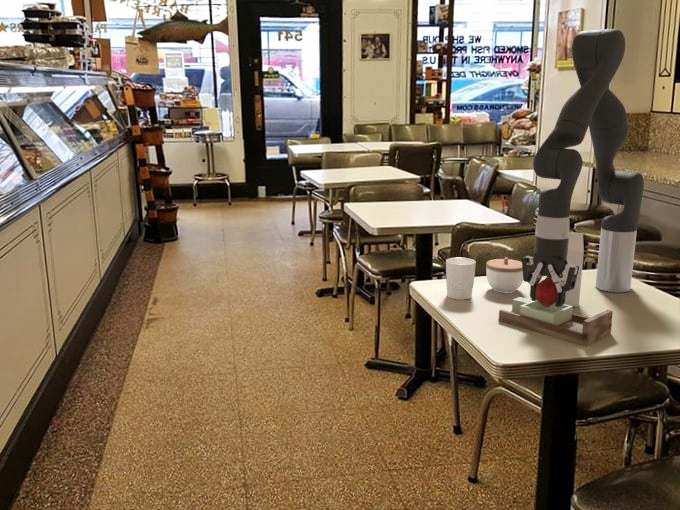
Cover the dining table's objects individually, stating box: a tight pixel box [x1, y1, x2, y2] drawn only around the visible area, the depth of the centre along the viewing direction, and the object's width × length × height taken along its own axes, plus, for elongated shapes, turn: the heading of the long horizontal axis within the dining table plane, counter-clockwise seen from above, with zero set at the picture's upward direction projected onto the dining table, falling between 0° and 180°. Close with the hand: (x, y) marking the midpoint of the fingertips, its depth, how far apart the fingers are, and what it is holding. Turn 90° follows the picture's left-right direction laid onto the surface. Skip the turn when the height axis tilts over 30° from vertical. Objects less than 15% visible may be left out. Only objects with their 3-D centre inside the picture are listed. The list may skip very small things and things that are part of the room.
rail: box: [498, 309, 614, 347], centre depth 161 cm, size 11×23×6 cm, turn 43°
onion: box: [535, 276, 558, 308], centre depth 161 cm, size 6×6×8 cm
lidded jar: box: [485, 257, 524, 293], centre depth 190 cm, size 11×11×9 cm
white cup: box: [445, 256, 476, 301], centre depth 184 cm, size 8×8×10 cm
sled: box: [511, 296, 574, 325], centre depth 164 cm, size 9×13×3 cm
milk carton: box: [552, 231, 585, 308], centre depth 178 cm, size 7×7×19 cm
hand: (546, 302), depth 162 cm, fingers closed on onion, 5 cm apart
